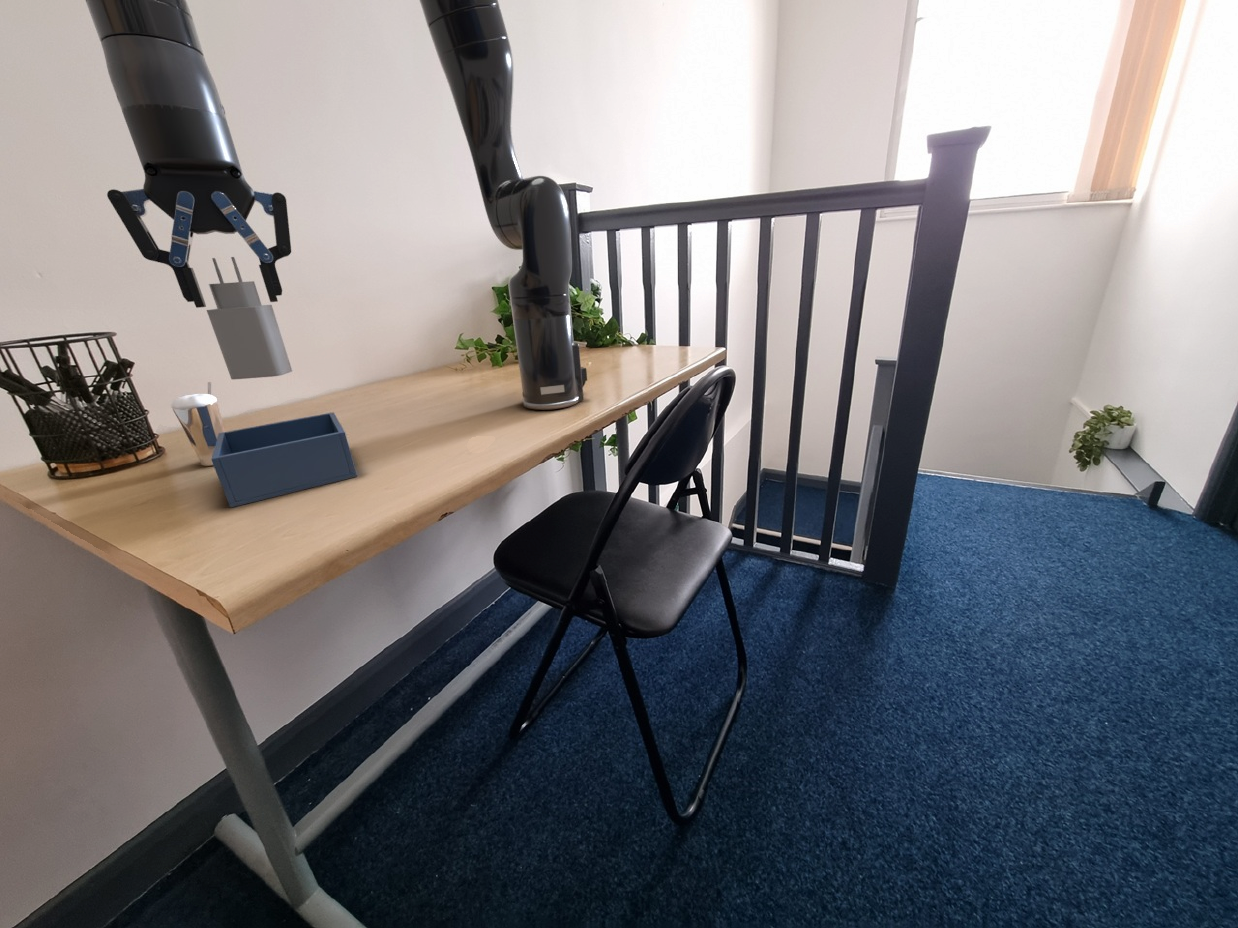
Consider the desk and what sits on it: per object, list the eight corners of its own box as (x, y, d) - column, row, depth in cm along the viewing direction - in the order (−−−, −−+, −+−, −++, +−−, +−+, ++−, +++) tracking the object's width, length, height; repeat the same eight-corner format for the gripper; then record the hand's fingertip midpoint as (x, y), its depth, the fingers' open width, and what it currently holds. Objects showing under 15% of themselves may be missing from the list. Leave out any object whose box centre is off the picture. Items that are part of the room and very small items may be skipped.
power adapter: (280, 376, 53) (241, 255, 49) (227, 380, 53) (183, 259, 49) (295, 370, 56) (259, 256, 52) (245, 374, 56) (205, 259, 51)
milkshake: (251, 452, 68) (225, 381, 65) (218, 467, 63) (188, 391, 60) (221, 453, 69) (194, 382, 65) (186, 468, 64) (154, 392, 60)
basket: (344, 451, 67) (333, 412, 65) (357, 476, 58) (345, 432, 56) (234, 475, 61) (218, 433, 58) (230, 507, 52) (211, 459, 50)
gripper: (52, 90, 39) (142, 313, 45) (268, 109, 46) (320, 299, 53) (79, 115, 45) (156, 309, 51) (267, 129, 52) (314, 297, 58)
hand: (238, 303), depth 52 cm, fingers closed on power adapter, 5 cm apart
